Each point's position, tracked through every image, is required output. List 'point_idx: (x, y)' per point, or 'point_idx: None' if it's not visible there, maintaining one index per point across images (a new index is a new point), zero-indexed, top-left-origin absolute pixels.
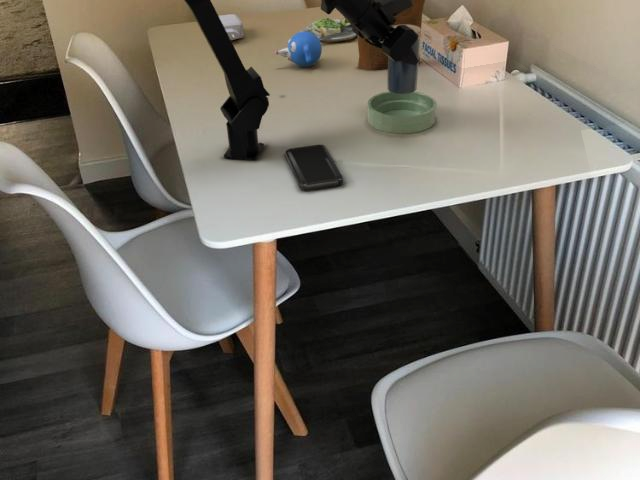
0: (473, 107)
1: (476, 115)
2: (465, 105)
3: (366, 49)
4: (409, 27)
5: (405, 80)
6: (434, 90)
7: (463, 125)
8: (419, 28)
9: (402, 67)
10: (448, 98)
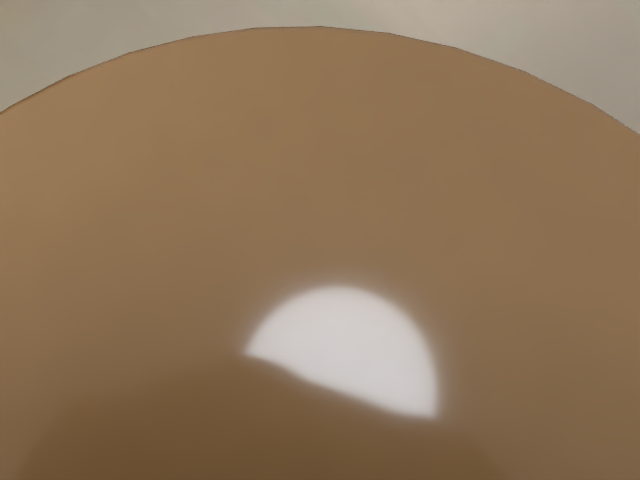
0: (473, 8)
1: (553, 60)
2: (431, 18)
3: None
4: (241, 301)
5: None
6: (208, 3)
7: None
8: (584, 141)
9: None
10: (318, 19)
